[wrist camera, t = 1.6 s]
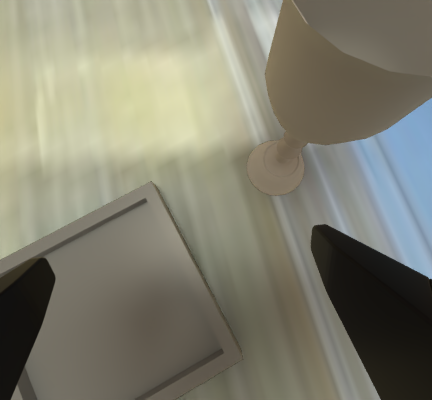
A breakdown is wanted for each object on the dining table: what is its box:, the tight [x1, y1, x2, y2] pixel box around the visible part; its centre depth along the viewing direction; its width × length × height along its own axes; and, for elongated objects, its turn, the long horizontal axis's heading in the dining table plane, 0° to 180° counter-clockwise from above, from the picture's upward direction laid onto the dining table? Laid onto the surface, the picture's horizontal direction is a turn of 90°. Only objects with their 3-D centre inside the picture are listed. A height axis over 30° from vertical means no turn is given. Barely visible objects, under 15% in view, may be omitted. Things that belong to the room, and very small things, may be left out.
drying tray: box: [0, 181, 243, 400], centre depth 21 cm, size 15×16×2 cm
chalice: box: [247, 0, 432, 196], centre depth 15 cm, size 7×7×18 cm
